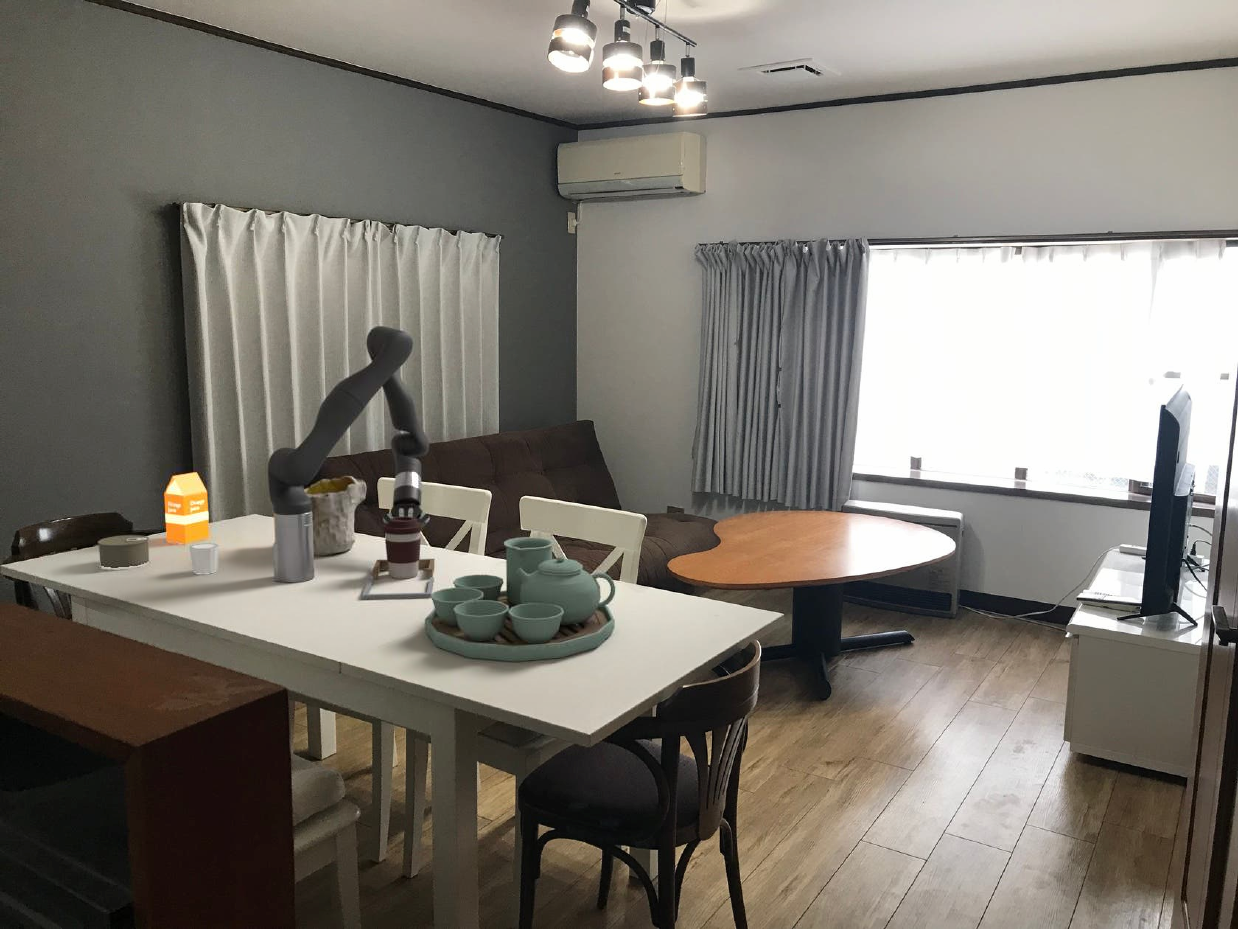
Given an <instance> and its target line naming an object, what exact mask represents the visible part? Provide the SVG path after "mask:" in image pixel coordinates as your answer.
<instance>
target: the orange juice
mask: <svg viewBox="0 0 1238 929" xmlns="http://www.w3.org/2000/svg"><path fill="white" fill-rule="evenodd" d="M163 494H164V508H165V509H164V511H165V512H164V514H165V516H164V517H165V530H166V542H167V541H172V542H178V543H184V544H186V543H189V542H193V541H198V540H201V539H205V538H209V539H210V524H209V504H208V491H207V489H206V487H205V485H204V483H203V481H202V479H201V478H200V476H199V474H198V473H197V471H196V472H189V473H183V474H177V475H172V477H171V479H170V482H169V484H168V485H167V487H166V490H165V491H164V493H163Z"/></svg>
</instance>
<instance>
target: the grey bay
mask: <svg viewBox="0 0 1238 929" xmlns="http://www.w3.org/2000/svg"><path fill="white" fill-rule="evenodd" d="M433 583H435V577H434V576H433V577H430V579H428V585H427V591H426V592H402V593H401V592H399V593H396V592H394V593H393V592H392V593H370V592H371V590H370V589H372V587H371V586H373V585H374V580H373V579H372V578H369V579H368V581H367V583H366V585H365V588H364V590H363V592H362V594H361V600H388V599H389V600H392V599H393V598H398V599H397V600H399V598H401V599H431V597H430V596H431V595H432V594H433V588H434V584H433ZM372 584H373V585H372ZM369 591H370V592H369Z"/></svg>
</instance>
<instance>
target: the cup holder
mask: <svg viewBox="0 0 1238 929" xmlns="http://www.w3.org/2000/svg"><path fill="white" fill-rule="evenodd" d="M380 569H389V566H388V561H387V559H376V560H375V563H374V565H373V567H372V570H371V575H372V576H371V579H373V581H377V580H378V578H379V577H378V576H379V574H380V572H381V570H380ZM418 570H428V578H427V579H428V580H430V577H434V572H435V558H420V559H419V563H418Z"/></svg>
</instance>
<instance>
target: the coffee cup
mask: <svg viewBox="0 0 1238 929" xmlns="http://www.w3.org/2000/svg"><path fill="white" fill-rule="evenodd" d="M422 531H423V528H422V524H421V523H419V522H418V520H416V518H414V517H394V518H393V517H392V518H391V519H389V521H388V523H387V524H385V523H384V524H383V525H382V532H383V534H385V539H384V542H385V550H386V553H385V554H386V560H387V561H388V566H389V570H388V575H389V577H390V578H392V577H393V579H397V578H398V580H407V579H412V578H415V577H417V576H418V574H419V569H418V563H419V559H421V557H420V556H421V542H422V540H421V532H422ZM406 578H407V579H406Z"/></svg>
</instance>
